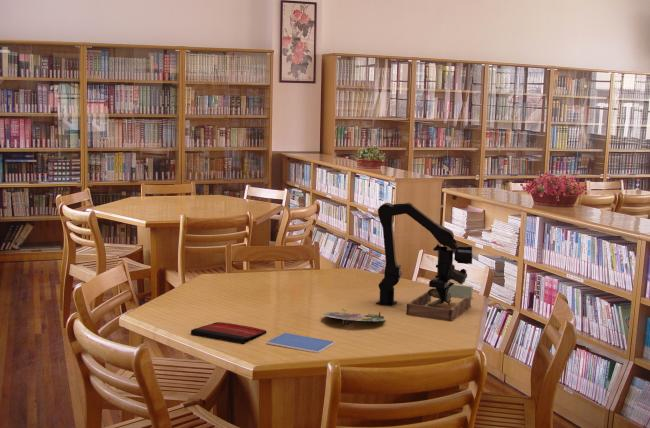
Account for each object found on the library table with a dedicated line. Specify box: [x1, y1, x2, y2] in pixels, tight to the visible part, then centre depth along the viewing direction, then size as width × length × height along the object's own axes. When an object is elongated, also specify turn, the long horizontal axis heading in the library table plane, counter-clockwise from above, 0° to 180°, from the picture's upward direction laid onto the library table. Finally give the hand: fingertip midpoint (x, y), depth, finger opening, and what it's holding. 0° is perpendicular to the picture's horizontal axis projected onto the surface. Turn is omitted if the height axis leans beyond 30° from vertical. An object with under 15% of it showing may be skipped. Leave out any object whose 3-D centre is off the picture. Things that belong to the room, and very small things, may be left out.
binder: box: [190, 321, 267, 345], centre depth 263 cm, size 16×2×21 cm
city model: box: [322, 309, 386, 328], centre depth 282 cm, size 25×24×6 cm
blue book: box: [266, 332, 336, 354], centre depth 253 cm, size 19×13×1 cm, turn 64°
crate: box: [405, 291, 472, 322], centre depth 299 cm, size 25×17×4 cm
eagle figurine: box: [426, 287, 453, 307], centre depth 307 cm, size 8×7×9 cm
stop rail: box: [447, 283, 474, 300], centre depth 321 cm, size 2×10×5 cm, turn 64°
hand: (443, 301), depth 303 cm, fingers closed
